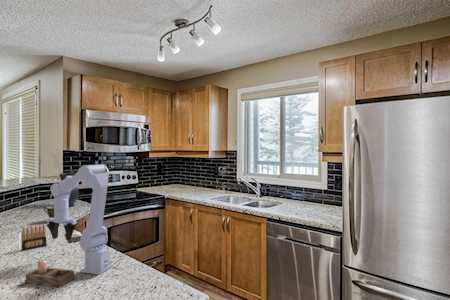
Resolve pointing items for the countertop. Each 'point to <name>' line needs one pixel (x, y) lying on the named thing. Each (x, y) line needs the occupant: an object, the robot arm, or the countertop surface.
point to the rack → (50, 277)
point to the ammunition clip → (33, 238)
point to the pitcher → (75, 191)
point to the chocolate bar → (75, 237)
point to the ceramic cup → (50, 211)
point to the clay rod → (42, 267)
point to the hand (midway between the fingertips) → (62, 238)
